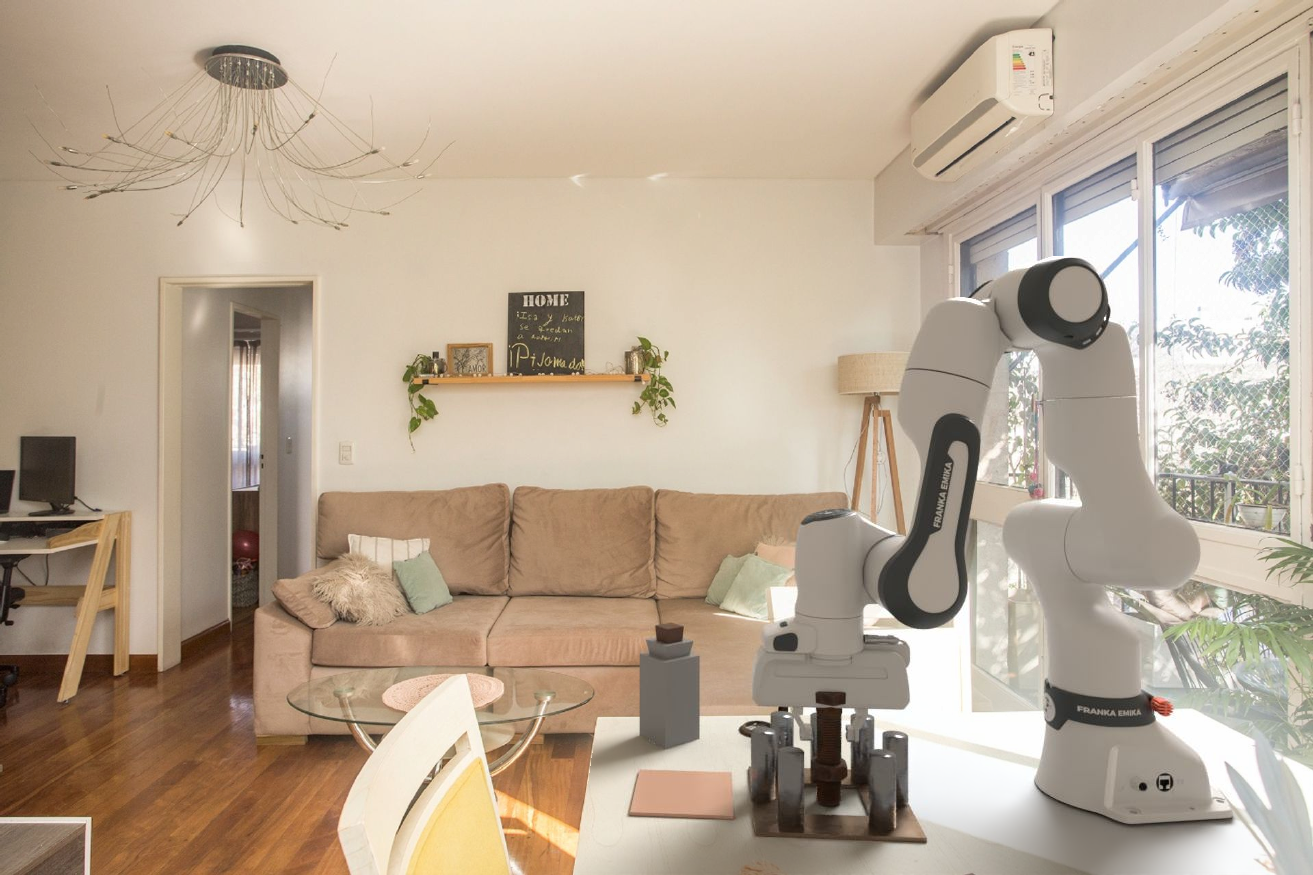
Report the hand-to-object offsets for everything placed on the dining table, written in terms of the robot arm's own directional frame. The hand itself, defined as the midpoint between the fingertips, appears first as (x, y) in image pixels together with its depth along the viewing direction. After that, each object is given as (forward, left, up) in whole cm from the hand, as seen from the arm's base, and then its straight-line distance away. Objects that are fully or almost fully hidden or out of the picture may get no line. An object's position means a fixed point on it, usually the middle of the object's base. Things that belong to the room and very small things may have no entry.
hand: (828, 739), depth 103 cm
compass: (+7, -23, -8) cm, 25 cm away
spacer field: (0, 0, -8) cm, 8 cm away
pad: (+19, -1, -8) cm, 21 cm away
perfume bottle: (+22, -20, -8) cm, 31 cm away
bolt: (0, 0, -8) cm, 8 cm away
